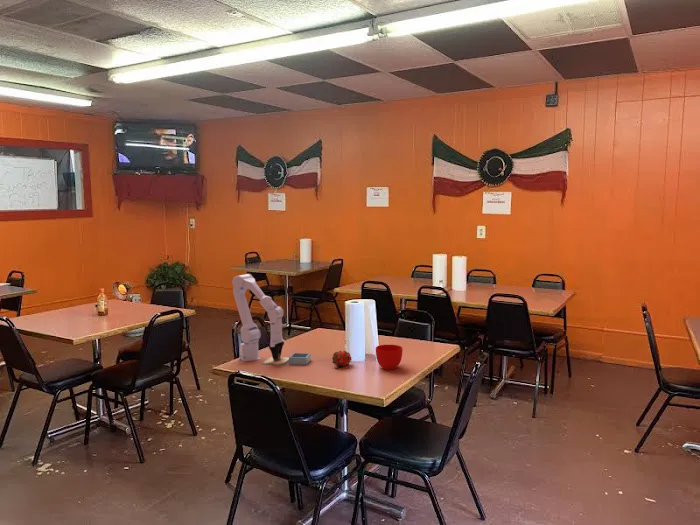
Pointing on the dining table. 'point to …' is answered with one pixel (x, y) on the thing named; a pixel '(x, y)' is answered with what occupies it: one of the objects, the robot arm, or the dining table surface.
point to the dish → (300, 358)
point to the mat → (273, 364)
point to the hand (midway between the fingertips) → (276, 357)
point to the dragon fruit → (341, 358)
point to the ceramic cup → (389, 356)
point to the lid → (277, 360)
